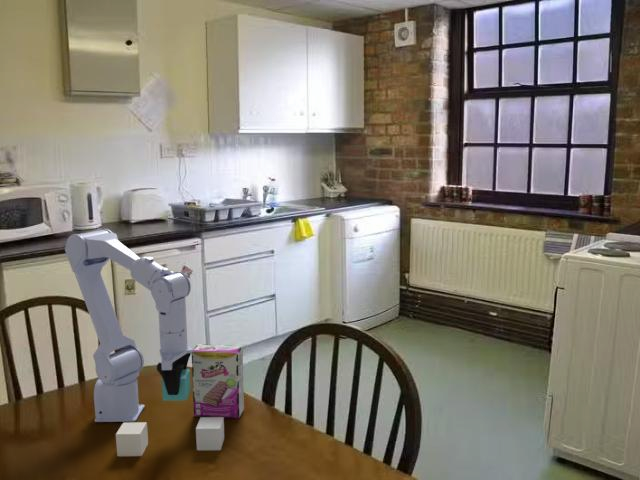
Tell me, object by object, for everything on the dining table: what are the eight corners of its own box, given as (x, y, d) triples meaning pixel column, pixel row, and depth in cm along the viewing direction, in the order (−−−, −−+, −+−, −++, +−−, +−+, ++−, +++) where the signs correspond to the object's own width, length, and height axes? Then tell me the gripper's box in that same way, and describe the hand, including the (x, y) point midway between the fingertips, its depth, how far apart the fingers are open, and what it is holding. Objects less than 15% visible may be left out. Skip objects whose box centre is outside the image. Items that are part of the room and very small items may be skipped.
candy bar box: (193, 417, 140) (190, 351, 137) (199, 408, 145) (196, 343, 142) (240, 419, 139) (238, 352, 136) (245, 409, 144) (243, 344, 141)
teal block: (162, 400, 129) (161, 378, 128) (168, 390, 134) (167, 369, 133) (186, 400, 129) (185, 378, 128) (190, 390, 134) (189, 369, 133)
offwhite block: (117, 456, 124) (115, 434, 123) (124, 444, 129) (123, 422, 128) (141, 456, 124) (140, 434, 123) (148, 443, 129) (146, 422, 128)
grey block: (196, 450, 126) (195, 428, 125) (201, 438, 131) (200, 417, 130) (220, 450, 126) (219, 428, 125) (224, 438, 131) (223, 417, 130)
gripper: (184, 340, 122) (187, 403, 124) (198, 318, 136) (200, 375, 138) (149, 341, 122) (153, 403, 124) (167, 318, 136) (170, 375, 138)
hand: (176, 388), depth 131 cm, fingers closed on teal block, 5 cm apart
